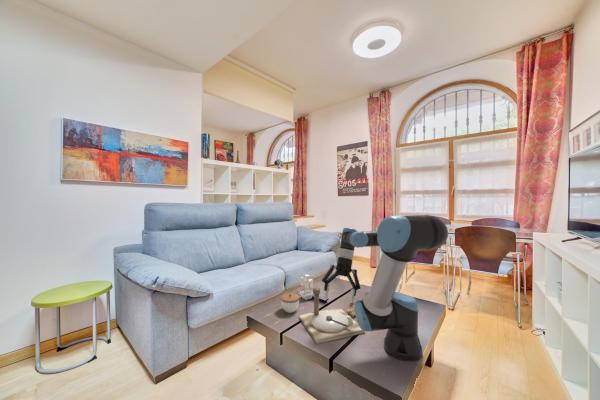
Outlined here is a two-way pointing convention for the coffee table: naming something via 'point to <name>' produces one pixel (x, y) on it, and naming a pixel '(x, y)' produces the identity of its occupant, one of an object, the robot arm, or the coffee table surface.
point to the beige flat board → (328, 336)
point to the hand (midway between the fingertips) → (338, 300)
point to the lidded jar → (290, 302)
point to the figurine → (306, 287)
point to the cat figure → (351, 310)
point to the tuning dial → (327, 317)
